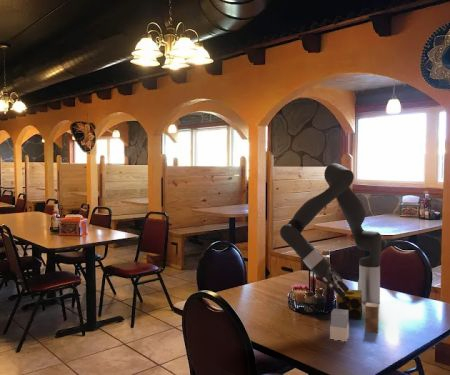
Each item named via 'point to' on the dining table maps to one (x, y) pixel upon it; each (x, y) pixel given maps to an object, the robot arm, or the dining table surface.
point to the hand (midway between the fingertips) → (345, 293)
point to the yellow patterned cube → (351, 303)
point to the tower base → (339, 333)
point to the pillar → (372, 317)
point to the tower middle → (339, 318)
